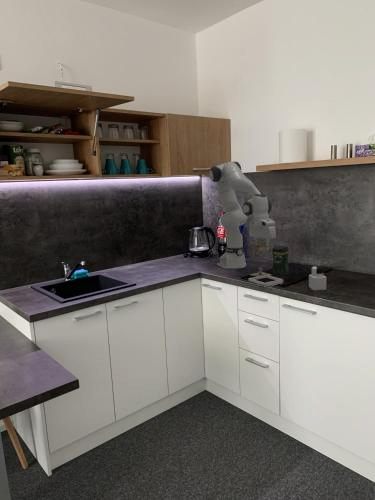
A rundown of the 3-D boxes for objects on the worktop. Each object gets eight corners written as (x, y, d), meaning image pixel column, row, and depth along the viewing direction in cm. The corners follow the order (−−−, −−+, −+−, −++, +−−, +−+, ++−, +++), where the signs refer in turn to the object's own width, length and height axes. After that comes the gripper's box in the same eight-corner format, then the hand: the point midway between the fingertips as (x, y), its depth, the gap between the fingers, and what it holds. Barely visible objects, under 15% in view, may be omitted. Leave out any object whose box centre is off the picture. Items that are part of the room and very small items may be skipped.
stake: (249, 276, 243) (248, 267, 242) (261, 273, 248) (261, 264, 247) (259, 279, 235) (259, 270, 234) (272, 276, 239) (272, 267, 238)
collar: (253, 251, 231) (252, 243, 230) (265, 249, 233) (265, 241, 233) (259, 252, 225) (258, 243, 224) (271, 250, 227) (270, 241, 227)
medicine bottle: (321, 286, 213) (321, 265, 211) (326, 289, 206) (326, 267, 204) (308, 287, 213) (308, 265, 211) (313, 290, 206) (313, 268, 204)
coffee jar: (290, 274, 242) (290, 245, 239) (284, 277, 237) (284, 247, 233) (276, 272, 249) (276, 244, 246) (270, 275, 243) (270, 246, 240)
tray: (248, 282, 228) (248, 278, 228) (266, 278, 235) (266, 274, 235) (264, 287, 216) (264, 283, 215) (283, 283, 222) (283, 279, 222)
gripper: (246, 221, 234) (247, 244, 236) (268, 223, 216) (269, 247, 219) (254, 220, 237) (255, 243, 239) (277, 222, 219) (278, 246, 222)
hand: (262, 245), depth 229 cm, fingers closed on collar, 7 cm apart
